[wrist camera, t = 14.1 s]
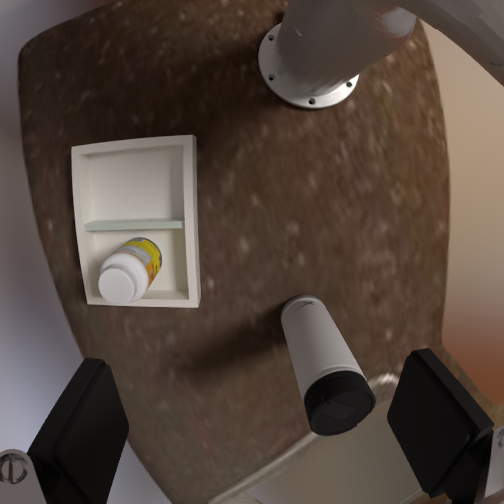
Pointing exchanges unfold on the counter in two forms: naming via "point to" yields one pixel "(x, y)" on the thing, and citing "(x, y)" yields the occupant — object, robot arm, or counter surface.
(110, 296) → the supplement bottle
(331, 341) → the travel mug
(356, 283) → the counter surface
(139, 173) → the bay tray
